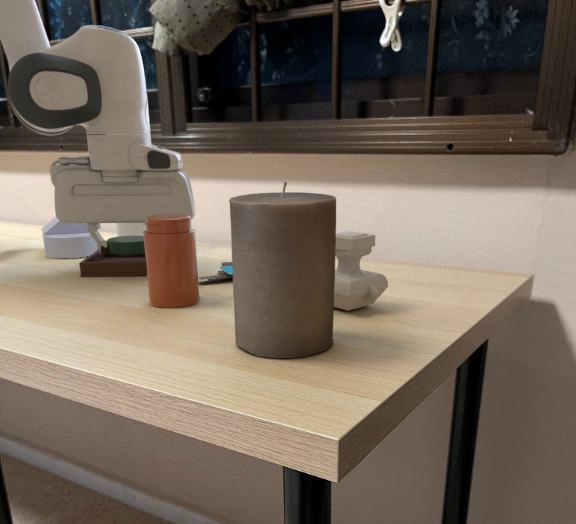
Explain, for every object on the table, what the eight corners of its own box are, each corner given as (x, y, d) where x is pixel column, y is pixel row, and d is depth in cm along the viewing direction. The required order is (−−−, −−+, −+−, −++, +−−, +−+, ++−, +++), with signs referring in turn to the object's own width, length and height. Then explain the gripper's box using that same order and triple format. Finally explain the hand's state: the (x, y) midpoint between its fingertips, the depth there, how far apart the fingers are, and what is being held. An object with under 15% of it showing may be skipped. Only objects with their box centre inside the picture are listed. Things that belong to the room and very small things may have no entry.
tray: (80, 276, 88) (78, 263, 87) (102, 259, 100) (101, 246, 99) (166, 275, 88) (165, 261, 87) (177, 258, 100) (176, 246, 99)
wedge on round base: (44, 247, 110) (46, 260, 99) (38, 209, 108) (39, 217, 97) (96, 244, 113) (103, 256, 102) (91, 206, 111) (98, 214, 100)
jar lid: (141, 256, 90) (139, 243, 89) (100, 254, 91) (99, 241, 90) (159, 248, 95) (158, 236, 95) (121, 247, 97) (119, 234, 96)
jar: (148, 309, 71) (139, 220, 67) (150, 296, 77) (143, 214, 73) (199, 306, 72) (194, 219, 68) (198, 294, 78) (193, 212, 74)
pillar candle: (340, 331, 63) (344, 178, 57) (324, 363, 54) (327, 187, 48) (250, 325, 65) (245, 177, 59) (220, 355, 56) (211, 185, 50)
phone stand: (214, 294, 78) (213, 281, 77) (189, 276, 88) (188, 264, 87) (351, 279, 85) (352, 267, 84) (314, 264, 95) (314, 253, 94)
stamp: (300, 304, 73) (301, 232, 70) (338, 294, 77) (340, 226, 74) (357, 319, 67) (360, 242, 63) (395, 308, 71) (400, 235, 68)
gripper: (40, 157, 84) (55, 257, 90) (188, 156, 85) (194, 255, 91) (54, 156, 90) (67, 249, 96) (193, 155, 91) (198, 248, 96)
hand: (130, 252), depth 93 cm, fingers closed on jar lid, 6 cm apart
